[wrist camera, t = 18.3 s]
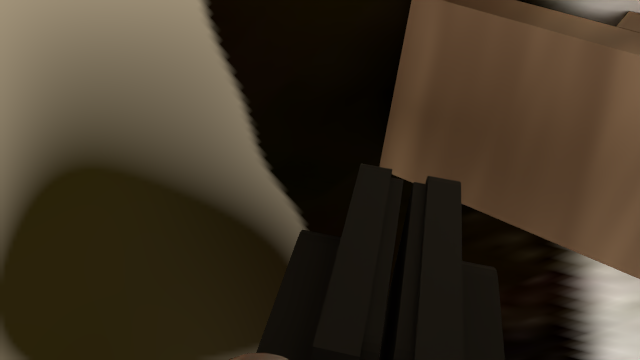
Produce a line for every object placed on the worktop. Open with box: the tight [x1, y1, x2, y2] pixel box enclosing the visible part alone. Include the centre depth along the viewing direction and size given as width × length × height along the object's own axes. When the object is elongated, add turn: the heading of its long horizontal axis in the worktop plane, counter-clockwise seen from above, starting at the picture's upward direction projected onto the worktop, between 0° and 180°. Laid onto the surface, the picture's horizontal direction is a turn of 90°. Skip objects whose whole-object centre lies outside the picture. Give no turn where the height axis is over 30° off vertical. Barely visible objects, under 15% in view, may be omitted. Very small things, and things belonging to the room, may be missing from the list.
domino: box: [379, 0, 640, 279], centre depth 14 cm, size 2×5×10 cm
